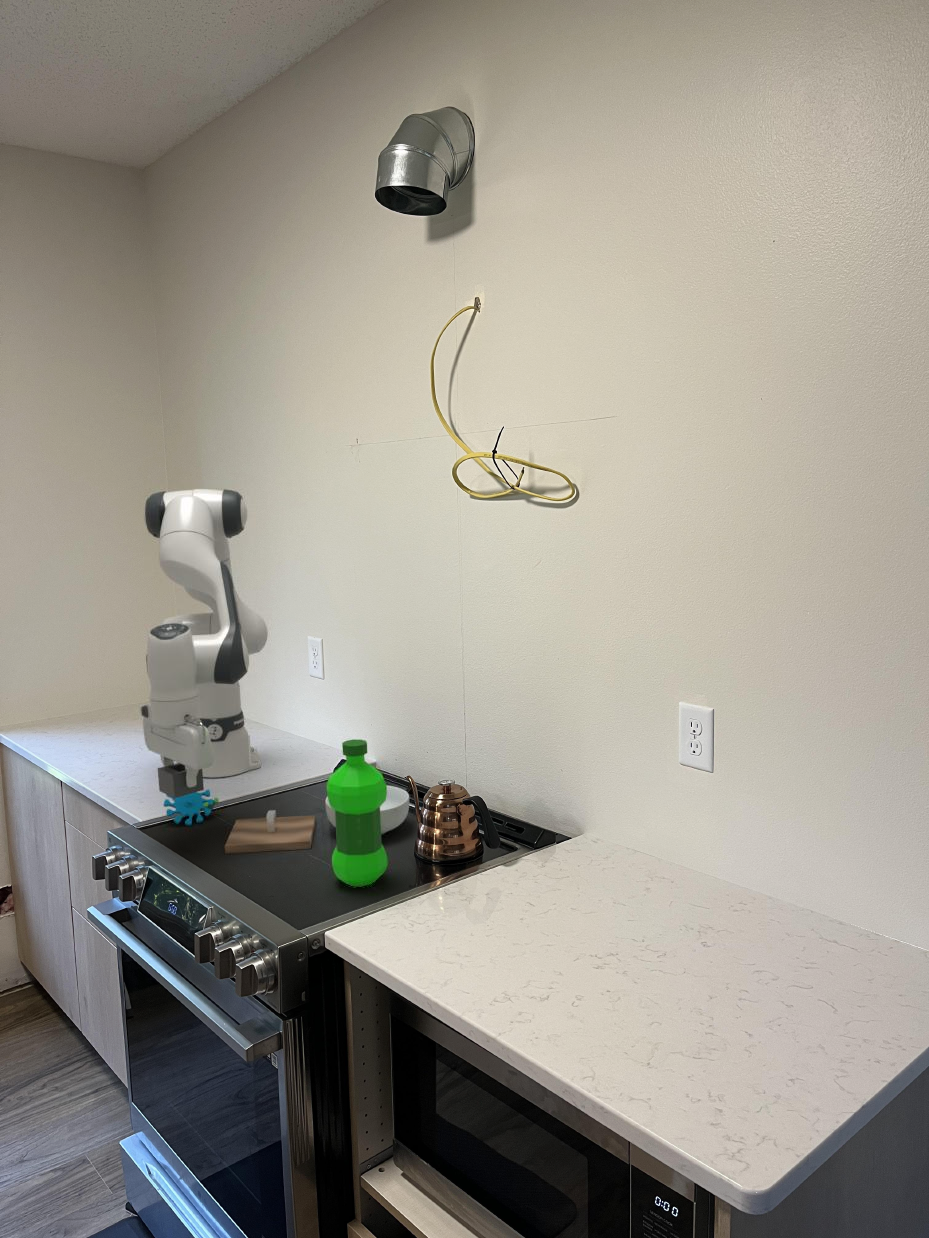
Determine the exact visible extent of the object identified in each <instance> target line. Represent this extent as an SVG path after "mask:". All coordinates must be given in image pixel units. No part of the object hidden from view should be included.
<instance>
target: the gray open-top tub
mask: <svg viewBox="0 0 929 1238" xmlns="http://www.w3.org/2000/svg"><path fill="white" fill-rule="evenodd" d="M186 773H187V770H185V765H183V764H180V763H178V762H176V763H174V764H173V765H169V766H165V767H164V766H161V767H158V768H157V779H158V787H159V792H161V793H163V794H165V795H166V794H167V795H169V796H171V797H173V798H177V797H181V796H184V795H188V794H192V793H195V792H198V793H200V792H202V791H205V789H204V788H205V787H204V777H203V772H202V769H199V771H198V774H197V777H196V781H197V784H196V786H194V787H187V786H185V785H184V777H186Z"/></svg>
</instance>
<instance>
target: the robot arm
mask: <svg viewBox="0 0 929 1238" xmlns="http://www.w3.org/2000/svg"><path fill="white" fill-rule="evenodd" d="M143 508H144V509H143V520H144V525H145V526H146V529H147V532H148V533H149V534H150V535H152V536H153V537H154V538H157V539H159V541H158V560H159V567H160V568H161V570H162V571H163V573H164V574H165V575H166V577H167V578H169V579H170V581H173V582H174V583H176V584H178V585H179V586H181V587H184V589H185V592H186V593H187V594H188V596H190V597H191V599H194V600H195V601H198V602H200V603H202V604H204V605H206V606H208V607H209V608H210V609H211V611H212V612H205V613H204V612H203V613H202V612H201V613H199V612H198V613H184V614H179V615H174V616H171V617H167V618H164V619H163V621H162V622H161V623H160V625H158V626H155V627H153V628H152V629H150V630H149V633H148V637H147V649H146V651H147V652H146V656H145V661H146V670H147V671H146V672H147V677H148V680H149V681H150V682H149V683H150V692H149V702H148V703H145V704H141V705H140V706H139V714H140V716H141V717H143V718H142V729H143V736H144V738H143V739H144V743H145V746H146V747H147V750H148V751H149V752H152V753H154V754H156V755H160V761H161V763H162V765H163V766H162V767H165V766H169V765H173V764H175V762H176V763H180V764H183V765H185V770H187V773H186V777H184V785H185V786H187V787H194V786H196V784H197V781H196V777H197V774H198V771H199V769H202V772H203V778H223V777H230V776H231V777H232V776H236V775H240V774H243V773H246V772H247V771H248V772H249V771H251V770H256V769H259V768H261V761H260V756H259V751H258V748H255V747H253V746H251V736H250V735H249V732H248V730H247V729H246V727H245V726H244V725H245V715H244V712H243V709H242V703H241V702H242V700H241V688H240V687H241V685H240V682H239V681H240V680H241V679H242V678H244V677H245V675H246V674H247V673H248V670H249V666H250V657H249V656H250V655H253V654H258V653H261V651H262V650H263V649H264V648H265V646H266V644H267V641H268V638H269V637H268V634H269V631H268V627H267V623H266V621H265V620H264V619H263V618H262V616H260V614H258V613H256V612H255V611H253V610H252V609H251V608H249V607H248V606H247V605H246V604H245V603H244V601H242V599H241V598H240V596H239V594H238V593H237V590H236V587H235V584H234V583H235V582H234V577H233V573H232V572H233V571H232V563H231V552H230V545H229V540H228V539H231V538H233V537H236V536H238V535H240V534H241V533H242V532H243V531H244V529H245V525H246V524H247V521H248V520H247V519H248V508H247V505H246V502H245V501H244V498H243V495H241V493H239V492H238V491H237V490H231V489H226V488H225V489H223V490H219V489H211V488H208V489H207V488H194V489H186V490H176V491H175V490H173V491H169V492H168V491H159V492H156V493H153V494H151V495H149V497H147V498H146V501H145V505H144V507H143Z"/></svg>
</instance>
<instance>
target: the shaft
mask: <svg viewBox="0 0 929 1238" xmlns="http://www.w3.org/2000/svg"><path fill="white" fill-rule="evenodd" d="M276 817H277V811H276V809H275V810H273V809H271V810H268V811H267V813H266V818H267V833H275V830H276Z"/></svg>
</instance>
